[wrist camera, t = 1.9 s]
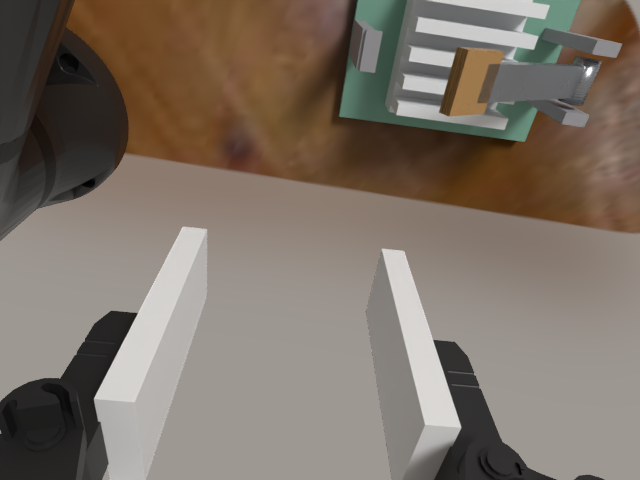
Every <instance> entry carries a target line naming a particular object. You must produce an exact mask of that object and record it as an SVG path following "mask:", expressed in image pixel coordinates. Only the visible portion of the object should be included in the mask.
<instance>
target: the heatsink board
mask: <svg viewBox="0 0 640 480" xmlns="http://www.w3.org/2000/svg"><path fill="white" fill-rule="evenodd" d="M580 1H581V0H357V2H356V8H355V15H354V21H353V27H352V33H351V40H350V46H349V52H348V58H347V65H346V71H345V77H344V83H343V90H342V96H341V102H340V108H339V117H346V118H353V119H360V120H368V121H375V122H383V123H390V124H397V125H405V126H412V127H419V128H427V129H434V130H441V131H449V132H456V133H463V134H471V135H478V136H486V137H493V138H500V139H508V140H515V141H522V142H525V140H526V137H527V135H528V132H529V130H530V127H531V125H532V122H533V120H534V117H535V115H536V112H537V109H538V110H539V111H541V112H543V113H544V114H546V115H548V116H549V117H551V118H553V119H554V120H556V121H557V122H559V123H561V124H565V125H572V126H579V127H584V126H585V124H586V122H587V120H588V117H589V115H588V114H586V113H584V112H582V111H580V110H578V109H576V108H574V107H572V106H570V105H568V104H566V103H564V102H561V101H559V100H558V99H548V100H530V101H513V102H495V103H487V106H486V109H485V112H484V114H477V115H464V116H452V117H449V116H446V115H444V114H441V113H439V110H440V107H441V103H442V99H443V96H444V92H445V89H446V85H447V81H448V78H449V74H450V71H451V67H452V64H453V60H454V56H455V53H456V49H457V47H469V48H485V49H495V50H499V51H503V52H504V55H503V58H502V61H501V62H530V63H556V61H557V59H558V56H559V54H560V51H561V49H562V46H566V47H569V48H573V49H576V50H580V51H583V52H586V53H590V54H595V55H601V56H608V57H614V58H616V57H617V54H618V52H619V50H620V48H621V46H622V44H621V43H616V42H612V41H607V40H603V39H599V38H594V37H590V36H585V35H581V34H577V33H572V32H568V31H569V29H570V26H571V23H572V21H573V18H574V16H575V13H576V11H577V8H578V6H579V3H580Z"/></svg>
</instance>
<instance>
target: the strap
mask: <svg viewBox="0 0 640 480" xmlns="http://www.w3.org/2000/svg"><path fill="white" fill-rule="evenodd" d="M503 55H504V52H503V51H499V50H495V49H485V48H469V47H457V49H456V53H455V56H454V60H453V64H452V67H451V71H450V74H449V78H448V81H447V85H446V89H445V92H444V96H443V99H442V103H441V107H440V110H439V113H441V114H444V115H446V116H449V117H452V116H464V115H477V114H484V112H485V109H486V106H487V103H495V102H513V101H530V100H548V99H558V100H559V101H561V102H564V103H567V104H571V105H577V106H582V105H583V104H584V101H585V99H586V97H587V95H588V92H589V90H590V88H591V86H592V83H593V81H594V79H595V77H596V74H597V72H598V70H599V68H600V65H601V63H602V61H599V60H595V59H591V58H585V57H579V56H576V57H575V59H574V62H573V64H559V63H530V62H501V61H502V58H503Z"/></svg>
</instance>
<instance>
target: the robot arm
mask: <svg viewBox="0 0 640 480" xmlns="http://www.w3.org/2000/svg"><path fill="white" fill-rule="evenodd" d="M74 1H75V0H0V240H2V239H3V238H4V237H5V236H6V235H7V234H8V233H10V232H11V231H12V230H13V229H14V228H16V227H17V226H18V225H19V224H20V223H21V222H22V221H24V220H25V219H26V218H27V217H28V216H29V215H30V214H31V213H32V212H34V211H35V210H36V209H38V208H42V207H45V206H49V205H53V204H57V203H61V202H65V201H69V200H73V199H76V198H78V197H81V196H83V195H85V194H87V193H89V192H91V191H92V190H94V189H95V188H97V187H98V186H99V185H100V184H101V183H102V182H103V181H104V180H106V179H107V177H109V176H110V175H111V174H112V173H113V171H114V170H115V169H116V168H117V166H118V165H119V163H120V161H121V159H122V158H123V155H124V153H125V149H126V146H127V141H128V117H127V112H126V107H125V103H124V100H123V97H122V94H121V92H120V90H119V87H118V85H117V83H116V81H115V79H114V78H113V76H112V74H111V73H110V71H109V70H108V68H107V67H106V65H105V64H104V63H103V61H102V60H101V59H100V58H99V56H98V55H97V54H96V53H95V52H94V51H93V50H92V49H91V48H90V47H89V46H88V45H87V44H86V43H85V42H84V41H83V40H82V39H81V38H79V37H78V36H77V35H76V34H74V33H73V32H72V31H70V30H69V29H67V28H66V24H67V21H68V18H69V15H70V13H71V10H72V7H73V4H74ZM206 297H207V229H201V228H192V227H182V229H181V231H180V233H179V235H178V237H177V239H176V241H175V243H174V245H173V247H172V249H171V251H170V253H169V254H168V256H167V258H166V260H165V262H164V264H163V266H162V268H161V270H160V272H159V274H158V276H157V278H156V280H155V282H154V284H153V286H152V287H151V289H150V291H149V293H148V295H147V297H146V299H145V301H144V303H143V305H142V307H141V309H140V311H139V312H138V313H129V312H119V311H110V312H109V313H108V314H107V315H105V316H104V317H103V318H101V319H100V320H99V321H97V322H96V323H95V324H94V326H93V327H92V329H91V331H90V332H89V334H88V335H87V337H86V338H85V342H83V343H82V345H81V346H80V348H79V350H78V351H77V355H75V356H74V358H73V359H72V361H71V362H70V364H69V366H68V367H67V369H66V370H65V372H64V374H63V375H62V377H61V378H60V379H59V378H44V379H40V380H35V381H32V382H28V383H26V384H24V385H22V386H20V387H18V388H16V389H14V390H13V391H12V392H11V393H9V394H8V395H7V396H6V397H5V398H4V399H2V400H1V402H0V430H1V433H2V434H0V480H102V478H103V475H104V473H105V471H106V469H107V468H108V473H109V478H110V480H146V478H147V474H148V472H149V469H150V466H151V463H152V459H153V457H154V454H155V451H156V448H157V445H158V442H159V438H160V435H161V432H162V429H163V426H164V423H165V420H166V417H167V414H168V411H169V408H170V405H171V402H172V399H173V396H174V393H175V390H176V387H177V384H178V381H179V378H180V375H181V372H182V369H183V366H184V363H185V360H186V357H187V354H188V351H189V348H190V345H191V342H192V339H193V336H194V333H195V330H196V327H197V324H198V321H199V318H200V315H201V312H202V309H203V306H204V303H205V300H206ZM366 316H367V322H368V329H369V335H370V342H371V348H372V355H373V361H374V368H375V374H376V381H377V387H378V394H379V400H380V407H381V413H382V420H383V426H384V432H385V439H386V446H387V451H388V459H389V465H390V472H391V478H392V480H556V479H553V478H551V477H548V476H545V475H543V474H540V473H538V472H536V471H534V470H531V469H529V468H528V467H527V466H526V464H525V463H524V461H523V460H522V459H521V458H520V456H519V455H518V454H517V453H516V452H515V451H514V450H513V449H511V448H510V447H509V446H508V445H506V444H504V443H503V442H502V440H501V438H500V436H499V434H498V431H497V428H496V426H495V423H494V421H493V418H492V416H491V413H490V411H489V408H488V406H487V403H486V401H485V399H484V396H483V394H482V391H481V389H479V384H478V381H477V379H476V376H474V372H473V369H472V366H471V364H470V362H469V359H468V357H467V355H466V354H465V353H464V352H463V351H462V350H461V349H460V347H459V346H458V345H457V344H456V343H455V342H448V341H438V340H433V339H432V336H431V332H430V329H429V326H428V323H427V320H426V317H425V314H424V311H423V308H422V305H421V302H420V299H419V296H418V292H417V289H416V286H415V283H414V281H413V277H412V274H411V271H410V268H409V265H408V262H407V259H406V256H405V252H404V251H398V250H389V249H381V253H380V257H379V261H378V265H377V269H376V273H375V277H374V281H373V285H372V289H371V293H370V297H369V301H368V305H367V309H366ZM575 480H604V479H602V478H599V477H595V476H592V475H582V476H578V477H577V478H576V479H575Z"/></svg>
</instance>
